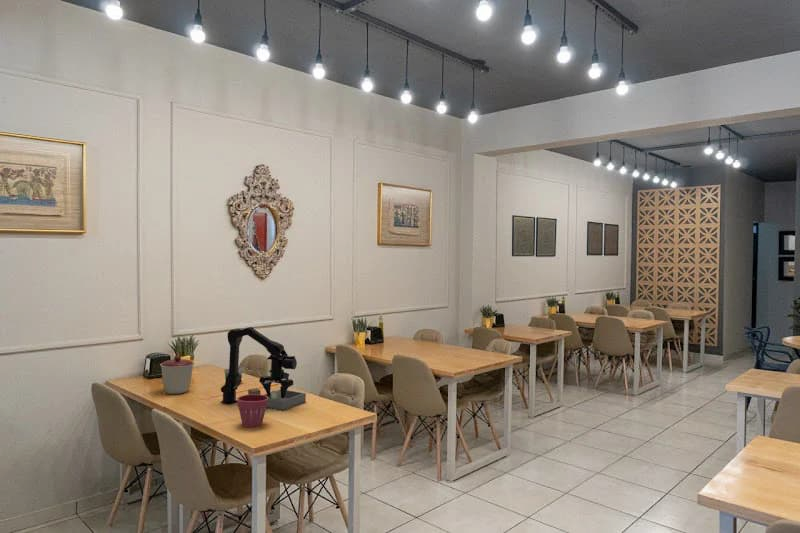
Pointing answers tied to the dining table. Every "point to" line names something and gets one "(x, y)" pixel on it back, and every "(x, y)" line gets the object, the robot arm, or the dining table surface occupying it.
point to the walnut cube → (253, 391)
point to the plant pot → (252, 409)
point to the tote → (286, 400)
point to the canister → (176, 375)
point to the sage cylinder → (276, 395)
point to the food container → (228, 371)
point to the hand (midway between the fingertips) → (275, 397)
